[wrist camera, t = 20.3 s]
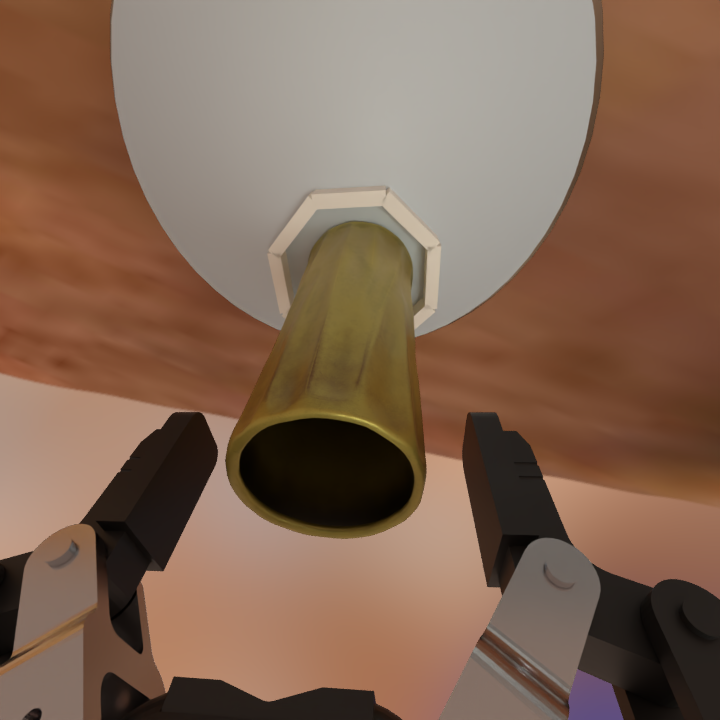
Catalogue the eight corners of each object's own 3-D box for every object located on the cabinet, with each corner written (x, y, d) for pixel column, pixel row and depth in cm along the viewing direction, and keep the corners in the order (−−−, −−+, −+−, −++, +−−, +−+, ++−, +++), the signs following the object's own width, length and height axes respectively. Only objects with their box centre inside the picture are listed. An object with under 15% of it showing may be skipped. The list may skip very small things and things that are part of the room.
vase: (399, 205, 19) (419, 370, 7) (422, 308, 22) (462, 538, 10) (291, 237, 20) (155, 421, 8) (328, 330, 23) (267, 555, 12)
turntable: (667, -266, 11) (848, -506, 7) (526, 330, 24) (558, 381, 20) (30, -171, 13) (-151, -312, 9) (210, 337, 26) (173, 386, 21)
